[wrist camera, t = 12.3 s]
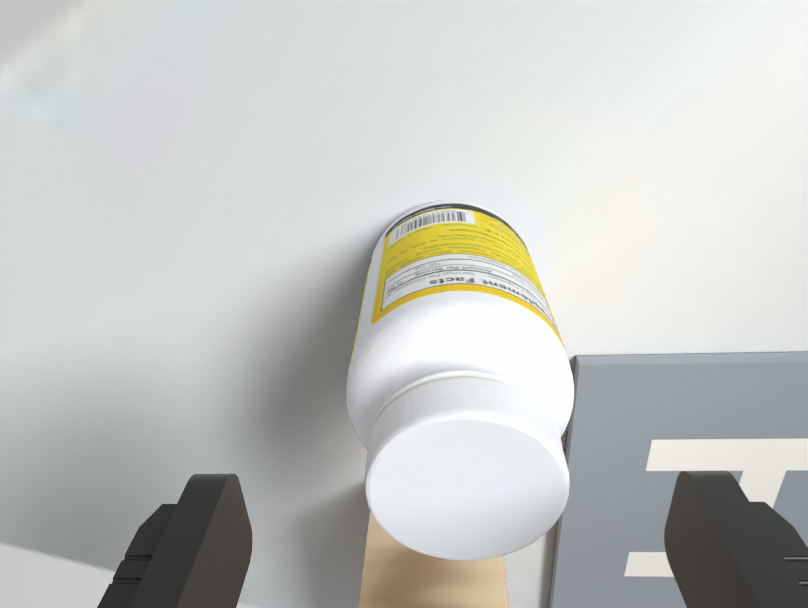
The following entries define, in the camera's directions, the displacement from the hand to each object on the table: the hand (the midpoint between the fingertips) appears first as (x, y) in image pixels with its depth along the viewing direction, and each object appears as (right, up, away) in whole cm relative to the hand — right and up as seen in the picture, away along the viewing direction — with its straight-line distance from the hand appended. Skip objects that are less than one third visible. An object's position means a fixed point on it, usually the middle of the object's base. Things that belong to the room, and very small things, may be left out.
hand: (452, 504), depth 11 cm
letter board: (+13, -5, +13) cm, 19 cm away
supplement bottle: (+1, +5, +9) cm, 10 cm away
